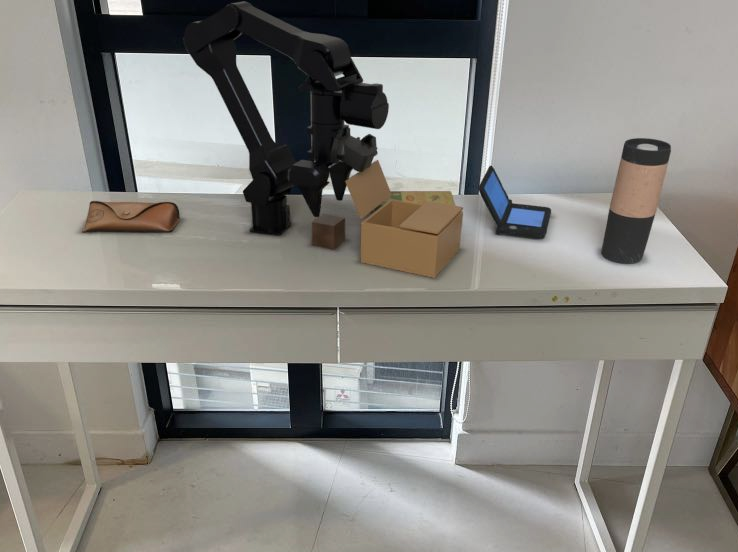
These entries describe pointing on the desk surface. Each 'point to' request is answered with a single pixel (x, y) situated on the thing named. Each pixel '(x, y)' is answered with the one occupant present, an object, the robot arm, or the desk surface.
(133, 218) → the sunglasses case
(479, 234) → the desk surface
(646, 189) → the travel mug
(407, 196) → the carton
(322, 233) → the walnut block
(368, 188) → the flap
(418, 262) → the kraft box
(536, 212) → the game console
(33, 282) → the desk surface
